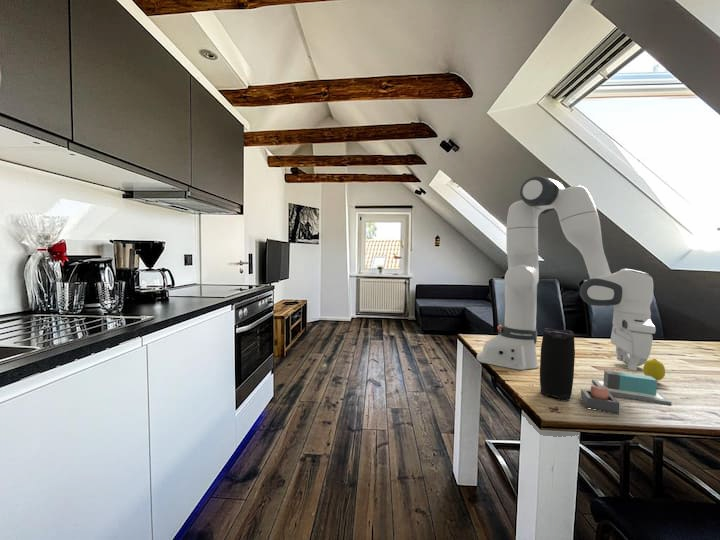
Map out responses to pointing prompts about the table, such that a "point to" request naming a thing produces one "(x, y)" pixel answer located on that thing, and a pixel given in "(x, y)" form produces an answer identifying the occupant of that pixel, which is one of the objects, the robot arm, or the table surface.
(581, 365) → the table surface
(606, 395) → the button
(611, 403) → the button housing
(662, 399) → the drawing board
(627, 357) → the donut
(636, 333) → the robot arm
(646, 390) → the marker
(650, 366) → the lemon
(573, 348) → the portable speaker
